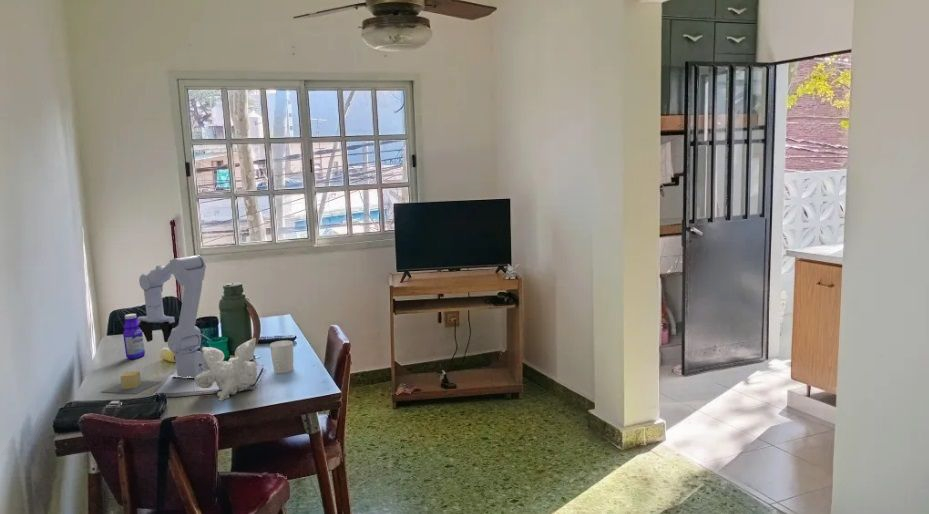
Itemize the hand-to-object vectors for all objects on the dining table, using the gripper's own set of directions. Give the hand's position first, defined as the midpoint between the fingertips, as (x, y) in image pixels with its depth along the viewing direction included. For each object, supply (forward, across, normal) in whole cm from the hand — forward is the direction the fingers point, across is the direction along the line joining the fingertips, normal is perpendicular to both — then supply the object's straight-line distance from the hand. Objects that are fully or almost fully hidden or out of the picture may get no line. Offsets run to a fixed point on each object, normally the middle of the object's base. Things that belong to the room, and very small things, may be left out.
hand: (158, 341), depth 243 cm
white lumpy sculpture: (+11, -42, +19) cm, 47 cm away
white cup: (+11, -49, -3) cm, 50 cm away
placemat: (+10, -4, +20) cm, 23 cm away
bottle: (+11, +22, -12) cm, 27 cm away
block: (+10, -4, +20) cm, 23 cm away
